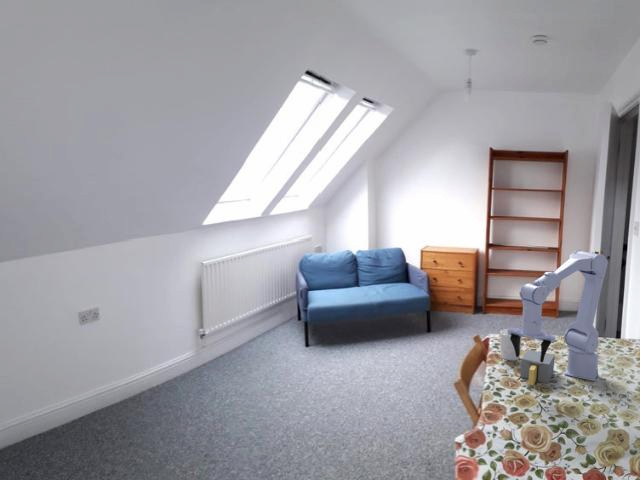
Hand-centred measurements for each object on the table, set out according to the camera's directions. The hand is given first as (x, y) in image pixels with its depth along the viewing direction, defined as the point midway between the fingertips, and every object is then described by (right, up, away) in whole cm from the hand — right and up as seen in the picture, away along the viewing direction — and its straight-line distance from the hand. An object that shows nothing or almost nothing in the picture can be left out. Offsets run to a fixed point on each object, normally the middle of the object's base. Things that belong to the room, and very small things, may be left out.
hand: (529, 358), depth 161 cm
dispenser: (+7, -8, +9) cm, 14 cm away
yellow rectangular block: (+4, -9, +5) cm, 11 cm away
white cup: (+3, -6, +25) cm, 26 cm away
